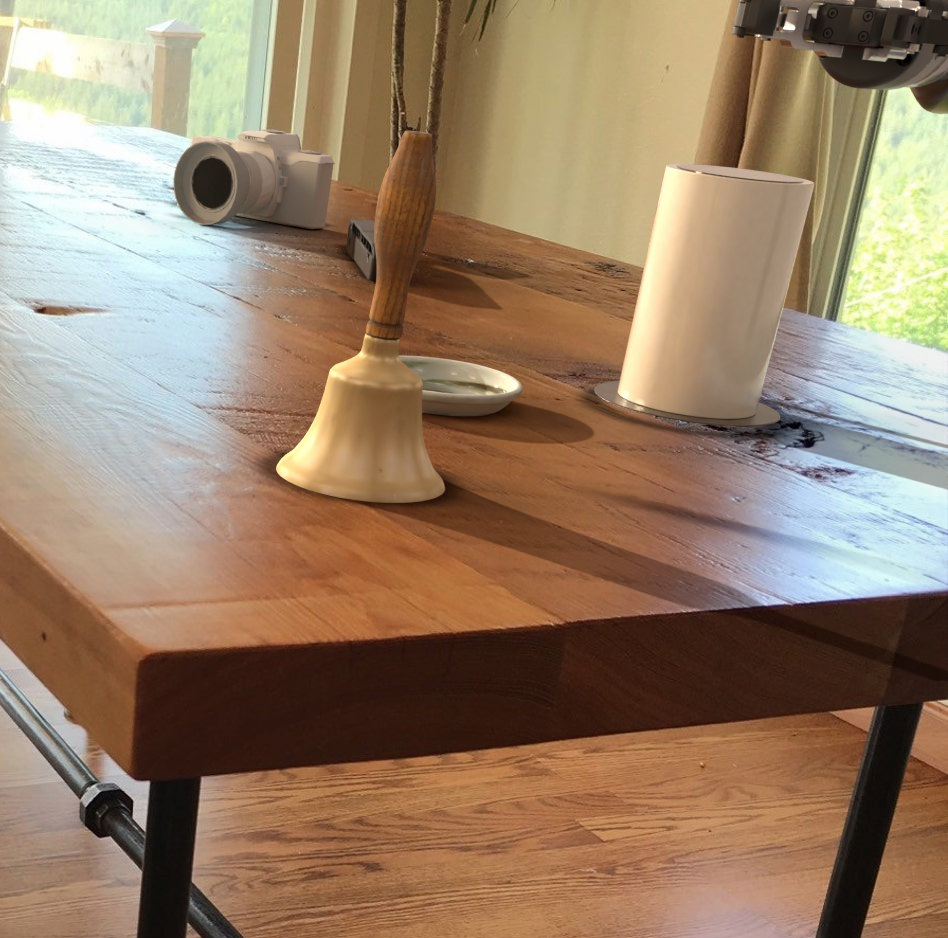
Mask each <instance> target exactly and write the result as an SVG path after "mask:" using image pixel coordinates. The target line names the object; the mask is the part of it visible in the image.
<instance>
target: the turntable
mask: <svg viewBox="0 0 948 938" xmlns="http://www.w3.org/2000/svg"><path fill="white" fill-rule="evenodd" d="M619 381H620V380H613V381H607V382H602V383H599V384H597V385H596V386H594V389H593V392H594V393H595V395H597V396H598V397H599V398H601V399H602V400H604V401H607V402H609V403H611V404H613V405H615V406H618V407H621V408H623V409H628V410H630V411H634V412H637V413H641V414H646V415H650V416H654V417H657V418H658V417H659V418H664V419H669V420H674V421H681V422H687V423H694V424H700V425H701V424H702V425H711V426H723V427H761V426H767V425H772V424H776V423H777V422H779V421H780V420H781V414H780V413H779V411H776V409H774V408H772V407H770V406H769V405H766V404H764V403H762V402H760V401H759V405H758V409H757V413H756V414H755V415H754V416H751V417H748V418H741V419H714V418H702V417H694V416H686V415H680V414H674V413H669V412H664V411H660V410H656V409H652V408H648V407H645V406H641V405H638V404H636V403H633V402H630V401H628V400H626V399H624V398H623V397H621V396H620V395H619V394H618V386H619Z"/></svg>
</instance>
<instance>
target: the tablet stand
mask: <svg viewBox="0 0 948 938" xmlns="http://www.w3.org/2000/svg"><path fill="white" fill-rule="evenodd" d="M374 227H375V220H366V219H365V220H364V219H356V218H351V219H350V221H349V225H348V229H347V235H346V253H347V254H348V255H349V257H350V259H352V260H354V262H355V263H356V265H357V266H358V268H359V269H360V271H361V272H362V274H363V275H364V276H365V278H366V279H367V280H368V281H371V282H376V278H377V260H376V252H375V242H374Z"/></svg>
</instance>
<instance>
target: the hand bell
mask: <svg viewBox="0 0 948 938" xmlns="http://www.w3.org/2000/svg"><path fill="white" fill-rule="evenodd" d="M383 176H384V177H383V179H382V182H381V185H380V188H379V192H378V197H377V201H376V208H375V217H374V221H375V227H374V242H375V252H376V260H377V278H376V281H375V287H374V292H373V295H372V301H371V305H370V309H369V310H370V311H369V315H368V319H369V320H368V321H367V324H366V326H365V327H366V328H365V334H364V337H363V342H362V346H361V350H360V352H359V353H358V354H357V355H355V356H353V357H351V358H349V359H347V360H344V361H342V362H339V363H335V364H334V365H333V366H332V367H331V368H330V370H329V372H328V376H327V380H326V384H325V386H324V387H325V388H324V391H323V395H322V397H321V401H320V405H319V407H318V410H317V412H316V415H315V417H314V419H313V421H312V423H311V425H310V427H309V429H308V431H307V432H306V433H305V435H304V437H303V438H302V439H301V440H300V442H299V443H298V444H297V445H296V446H295V447H294V449H292V450H291V451H289V452H287V453H286V454H285V455H283V457H281V459H280V460H279V461H278V463H277V465H276V468H275V469H276V472H277V474H278V475H279V476H280V477H281V478H282V479H284V480H285V481H286V482H288V483H291V484H292V485H295V486H296V487H300V488H303V489H305V490H308V491H311V492H314V493H318V494H322V495H326V496H331V497H335V498H341V499H347V500H351V501H360V502H370V503H385V504H387V503H388V504H405V503H417V502H424V501H430V500H433V499H436V498H438V497H440V496H442V495H443V494H444V493H445V491H446V487H445V483H444V480H443V478H442V477H441V475H440V473H438V472H437V471H436V469H435V468H434V466H433V464H432V461H431V458H430V457H429V454H428V451H427V448H426V443H425V438H424V431H423V413H422V391H423V390H424V389H423V383H422V379H421V378H420V376H419V375H418V374H416V373H415V372H413V371H412V370H411V369H409V368H408V367H407V366H406V365H405V364H404V363H403V362H402V361H401V360H400V358H399V356H400V345H401V340H400V338H401V337H402V336H403V334H404V325H403V324H404V322H405V318H406V310H407V302H408V296H409V295H408V294H409V288H410V284H411V279H412V276H413V274H414V271H415V268H416V266H417V264H418V262H419V260H420V258H421V256H422V253H423V251H424V249H425V246H426V244H427V241H428V239H429V235H430V231H431V227H432V223H433V219H434V213H435V207H436V200H437V198H436V197H437V178H436V168H435V162H434V153H433V134H432V133H429V132H424V131H416V130H405V131H404V132H403V134H402V136H401V139H400V141H399V144H398V147H397V149H396V151H395V153H394V155H393V157H392V159H391V161H390V163H389V165H388V167H387V169H386V171H385V174H384V175H383Z"/></svg>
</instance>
